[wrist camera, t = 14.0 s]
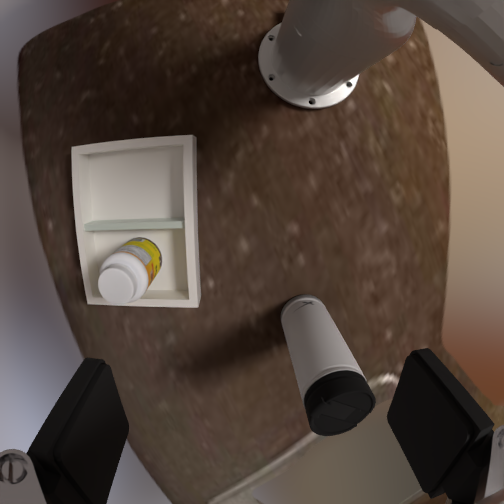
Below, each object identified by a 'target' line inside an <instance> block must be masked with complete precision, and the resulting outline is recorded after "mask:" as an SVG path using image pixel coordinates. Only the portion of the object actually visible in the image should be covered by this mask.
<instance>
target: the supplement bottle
mask: <svg viewBox="0 0 504 504" xmlns="http://www.w3.org/2000/svg"><path fill="white" fill-rule="evenodd" d="M161 266H162V254H161V251H160V249H159V247H158V246H157V245H156V244H155V243H154V242H153V241H152V240H150V239H147V238H144V237H137V238H133V239H131V240H129V241H128V242H127V243H125V244H124V245H123V246H121V247H120V248H119V249H117V250H116V251H115V252H114V253H112V254H111V255H110V256H108V257H107V258H106V259H105V261H104V262H103V264H102V266H101V269H100V276H99V279H98V288H99V291H100V293H101V295H102V297H103V298H104V299H105V300H106V301H108V302H109V303H111V304H114V305H124V304H126V303H131V302H134V301H137V300H138V299H140V298H141V297H142V296H143V295H144V293H145V292H146V290H147V289H148V287H149V286H150V284H151V283H152V281H153V280H154V278H155V277H156V275H157V274H158V272H159V271H160V269H161Z"/></svg>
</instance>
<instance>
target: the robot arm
mask: <svg viewBox="0 0 504 504" xmlns="http://www.w3.org/2000/svg"><path fill="white" fill-rule="evenodd" d="M416 16H417V17H419V18H420V19H422V20H423V21H425V22H426V23H428V24H429V25H431V26H432V27H433V28H435V29H438V30H439V31H440V32H442V33H443V34H444V35H446V36H447V37H448V38H449V39H451V40H452V41H453V42H454V43H456V44H457V45H458V46H460V47H461V48H462V49H463V50H464V51H465V52H466V53H468V54H469V55H470V56H471V57H472V58H473V59H474V60H475V61H477V62H478V63H479V64H480V65H481V66H482V67H483V68H484V69H485V70H486V71H487V72H489V74H490V75H491V76H492V77H494V78H495V79H496V80H497V81H498V82H499V83H500V84H501V85H502V86H503V87H504V0H289V3H288V6H287V9H286V12H285V15H284V18H283V20H282V23H280V24H278V25H276V26H275V27H273V28H272V29H271V30H270V31H269V32H268V33H267V34H266V36H265V37H264V39H263V40H262V43H261V45H260V48H259V53H258V65H259V69H260V73H261V75H262V77H263V80H264V81H265V83H266V84H267V86H268V87H269V88H270V89H271V90H272V91H273V92H274V93H275V94H276V95H277V96H278V97H280V98H281V99H283V100H284V101H286V102H288V103H290V104H292V105H294V106H298V107H301V108H307V109H323V108H327V107H331V106H333V105H335V104H338V103H340V102H341V101H343V100H344V99H345V98H347V97H348V96H349V95H350V94H351V92H352V91H353V90H354V88H355V86H356V84H357V81H358V78H359V74H360V73H362V72H363V71H365V70H366V69H368V68H369V67H371V66H372V65H374V64H376V63H377V62H379V61H380V60H382V59H383V58H385V57H387V56H388V55H390V54H391V53H393V52H394V51H396V50H397V49H399V48H400V47H401V46H402V45H403V44H404V43H405V42H406V41H407V40H408V39H409V37H410V35H411V34H412V31H413V28H414V25H415V21H416ZM269 39H272V40H273V41H270V40H269ZM269 78H272V79H273V81H270V80H269ZM346 84H347V85H348V86H349V87H347V86H346ZM309 101H311V102H312V104H309ZM387 419H388V423H389V425H390V427H391V429H392V431H393V433H394V435H395V437H396V438H397V440H398V442H399V444H400V446H401V448H402V450H403V452H404V454H405V456H406V458H407V460H408V462H409V464H410V466H411V468H412V470H413V472H414V474H415V476H416V478H417V480H418V482H419V484H420V486H421V488H422V490H423V491H424V492H425V493H428V494H429V496H430V498H431V499H432V498H434V497H437V496H439V495H441V494H444V493H445V492H446V494H447V496H448V498H447V501H446V504H504V425H502V426H500V427H498V428H497V429H496V430H495V432H494V431H493V430H492V428H493V426H494V423H493V422H492V420H491V419H490V418H489V417H488V415H487V414H486V413H485V412H484V411H483V409H482V408H481V407H480V406H479V405H478V403H477V402H476V401H475V400H474V399H473V397H472V396H471V395H470V394H469V393H468V392H467V390H466V389H465V388H464V387H463V386H462V385H461V383H460V382H459V381H458V380H457V379H456V378H455V377H454V375H453V374H452V373H451V372H450V371H449V370H448V369H447V368H446V366H445V365H444V364H443V363H442V362H441V361H440V360H439V359H438V358H437V356H436V355H435V354H434V353H433V352H432V351H431V350H430V349H428V348H425V349H420V350H414V351H412V352H411V353H410V356H408V357H407V358H406V360H405V364H404V367H403V370H402V373H401V376H400V379H399V382H398V385H397V388H396V391H395V394H394V397H393V400H392V403H391V405H390V408H389V411H388V414H387ZM128 432H129V423H128V420H127V417H126V415H125V412H124V409H123V406H122V403H121V400H120V397H119V394H118V390H117V387H116V384H115V381H114V377H113V374H112V370H111V367H110V366H109V365H107V364H106V363H105V361H104V360H102V359H94V358H85V359H84V361H83V362H82V364H81V365H80V367H79V368H78V370H77V371H76V373H75V374H74V376H73V377H72V379H71V380H70V382H69V383H68V385H67V387H66V388H65V390H64V391H63V393H62V394H61V396H60V397H59V399H58V401H57V402H56V404H55V406H54V407H53V409H52V410H51V412H50V414H49V415H48V417H47V419H46V420H45V422H44V424H43V425H42V427H41V429H40V430H39V432H38V434H37V435H36V437H35V439H34V441H33V442H32V444H31V446H30V448H29V450H28V452H27V453H24V452H22V451H20V450H16V449H9V450H5V451H3V452H1V453H0V504H106V503H107V500H108V496H109V492H110V489H111V486H112V483H113V479H114V476H115V473H116V470H117V467H118V463H119V460H120V457H121V453H122V451H123V448H124V445H125V442H126V439H127V436H128Z"/></svg>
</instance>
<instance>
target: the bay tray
mask: <svg viewBox="0 0 504 504" xmlns="http://www.w3.org/2000/svg"><path fill="white" fill-rule="evenodd" d="M72 184H73V200H74V213H75V224H76V233H77V241H78V249H79V256H80V263H81V269H82V276H83V281H84V287H85V292H86V297H87V302H88V304H98V305H114V304H111V303H109V302H108V301H106V300H105V299H104V298H103V297H102V295H101V293H100V291H99V288H98V279H99V276H100V269H101V266H102V264H103V262H104V261H105V259H106V258H107V257H108V256H110V255H111V254H112V253H114V252H115V251H116V250H117V249H119V248H120V247H121V246H123V245H124V244H125V243H127V242H128V241H129V240H131V239H133V238H137V237H144V238H147V239H150V240H152V241H153V242H154V243H155V244H156V245H157V246H158V247H159V249H160V251H161V254H162V266H161V269H160V271H159V272H158V274H157V275H156V277H155V278H154V280H153V281H152V283H151V284H150V286H149V287H148V289H147V290H146V292H145V293H144V295H143V296H142V297H141V298H140V299H138V300H137V301H134V302H131V303H126V304H124V305H120V306H148V307H198V306H199V302H200V298H201V286H200V267H199V244H198V215H197V137H195V136H193V135H180V136H164V137H151V138H139V139H129V140H120V141H111V142H103V143H95V144H88V145H82V146H75V147H72Z"/></svg>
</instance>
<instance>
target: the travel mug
mask: <svg viewBox="0 0 504 504" xmlns="http://www.w3.org/2000/svg"><path fill="white" fill-rule="evenodd" d="M281 323H282V326H283V330H284V334H285V337H286V341H287V345H288V349H289V352H290V356H291V360H292V363H293V367H294V371H295V375H296V378H297V382H298V386H299V390H300V393H301V397H302V400H303V405H304V408H305V409H306V414H307V417H308V421H309V425H310V428H311V430H312V431H313V432H314V433H316V434H318V435H322V436H333V435H337V434H341V433H344V432H347V431H349V430H351V429H352V428H354V427H356V426H357V423H359V422H361V421H362V420H363V419H364V418H365V417H366V416H367V415H368V414H369V413H371V411H372V410H373V408H374V407H375V403H376V401H375V396H374V394H373V393H372V391H371V389H370V387H369V385H368V384H367V381H366V379H365V377H364V375H363V373H362V371H361V369H360V368H359V366H358V364H357V362H356V360H355V359H354V357H353V355H352V353H351V351H350V350H349V348H348V346H347V344H346V343H345V341H344V339H343V337H342V336H341V334H340V332H339V330H338V329H337V327H336V325H335V323H334V322H333V320H332V318H331V316H330V315H329V313H328V311H327V310H326V308H325V306H324V304H323V303H322V302H321V300H320V299H318V298H317V297H315V296H312V295H299V296H296V297H294V298H292V299H291V300H289V301H288V302H287V303H286V304H285V306H284V307H283V309H282V312H281Z"/></svg>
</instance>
